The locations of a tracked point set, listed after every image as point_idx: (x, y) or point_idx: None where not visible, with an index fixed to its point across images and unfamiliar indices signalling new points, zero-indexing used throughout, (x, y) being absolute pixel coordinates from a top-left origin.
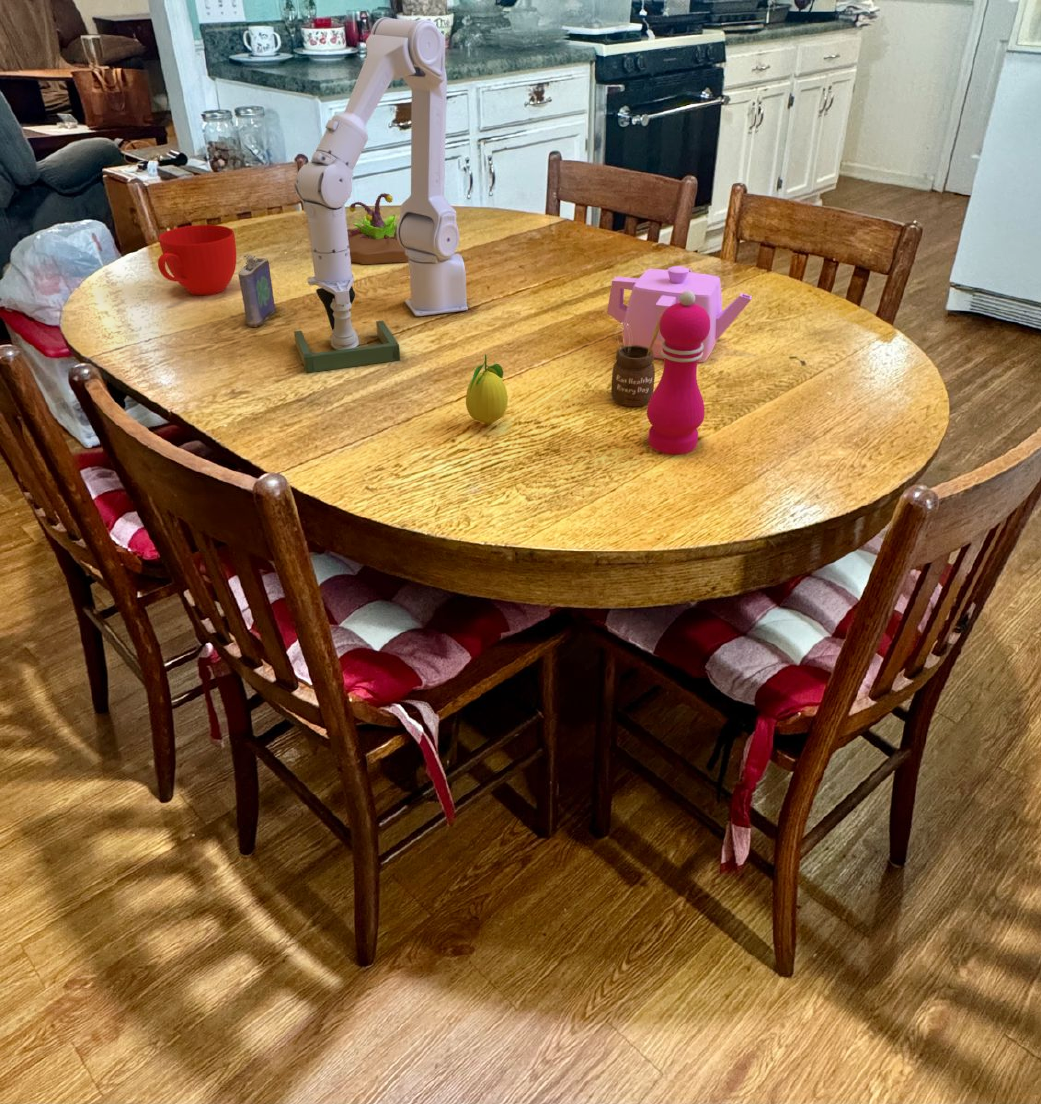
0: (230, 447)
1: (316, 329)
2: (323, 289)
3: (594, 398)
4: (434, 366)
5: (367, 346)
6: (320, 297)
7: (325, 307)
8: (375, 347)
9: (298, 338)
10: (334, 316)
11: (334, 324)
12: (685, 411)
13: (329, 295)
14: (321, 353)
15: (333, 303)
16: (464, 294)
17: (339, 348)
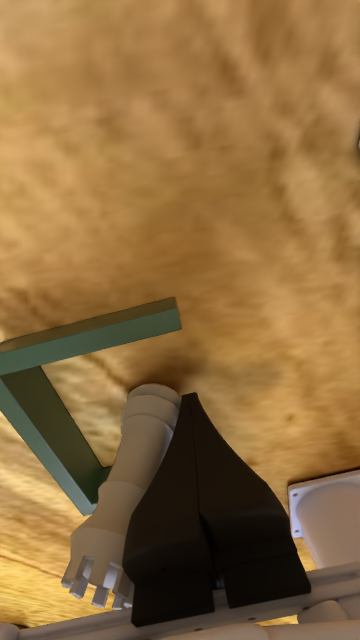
0: None
1: (280, 332)
2: (260, 534)
3: (3, 616)
4: (74, 514)
5: (68, 476)
6: (132, 540)
7: (154, 478)
8: (64, 487)
9: (112, 329)
10: (105, 484)
11: (136, 442)
12: None
13: (136, 578)
14: (4, 399)
15: (77, 564)
16: (315, 564)
17: (127, 400)
